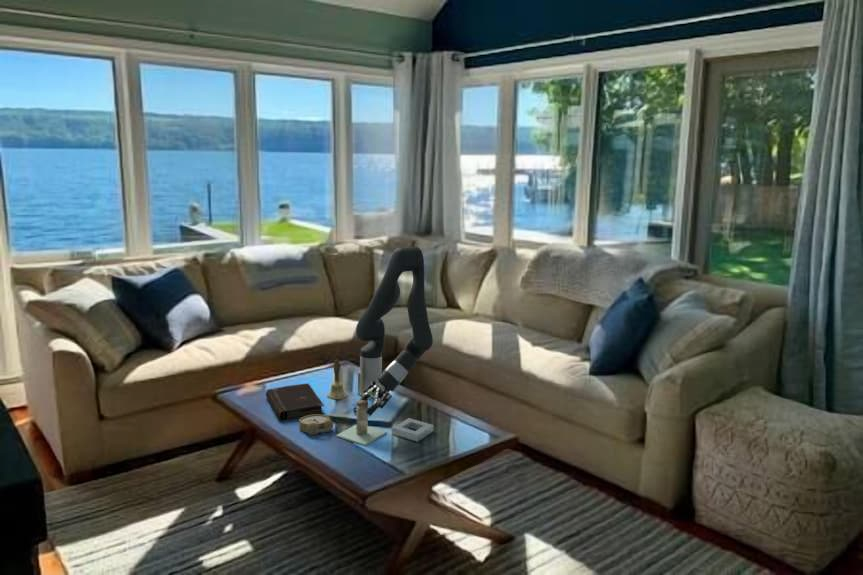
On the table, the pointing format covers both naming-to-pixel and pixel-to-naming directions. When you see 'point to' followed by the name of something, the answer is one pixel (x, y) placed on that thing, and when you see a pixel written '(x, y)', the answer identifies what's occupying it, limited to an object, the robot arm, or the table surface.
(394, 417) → the table surface
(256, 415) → the table surface
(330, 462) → the table surface
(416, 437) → the block
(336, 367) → the hand bell
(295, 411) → the diary
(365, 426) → the peg
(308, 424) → the alarm clock
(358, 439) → the tile
